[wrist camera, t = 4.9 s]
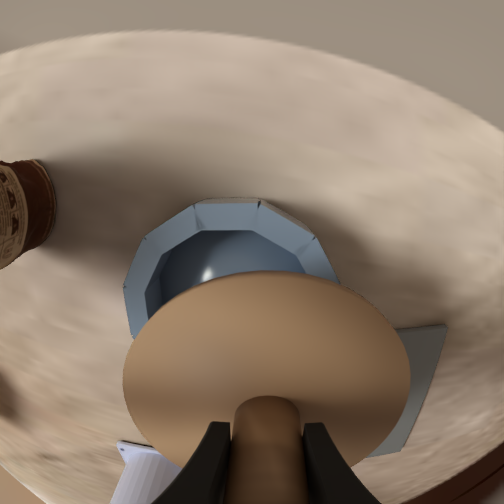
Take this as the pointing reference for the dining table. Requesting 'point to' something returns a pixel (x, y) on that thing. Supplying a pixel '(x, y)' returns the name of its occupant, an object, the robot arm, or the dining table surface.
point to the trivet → (415, 379)
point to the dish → (217, 251)
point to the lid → (266, 377)
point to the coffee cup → (24, 208)
